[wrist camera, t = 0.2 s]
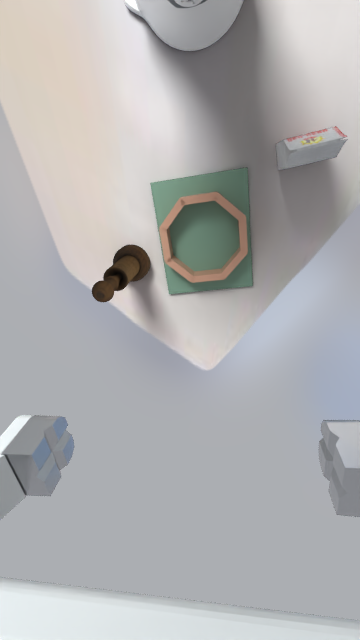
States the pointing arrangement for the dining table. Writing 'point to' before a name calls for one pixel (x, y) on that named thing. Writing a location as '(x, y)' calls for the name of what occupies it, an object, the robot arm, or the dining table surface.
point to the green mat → (205, 228)
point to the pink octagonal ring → (205, 274)
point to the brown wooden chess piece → (122, 272)
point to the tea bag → (309, 148)
